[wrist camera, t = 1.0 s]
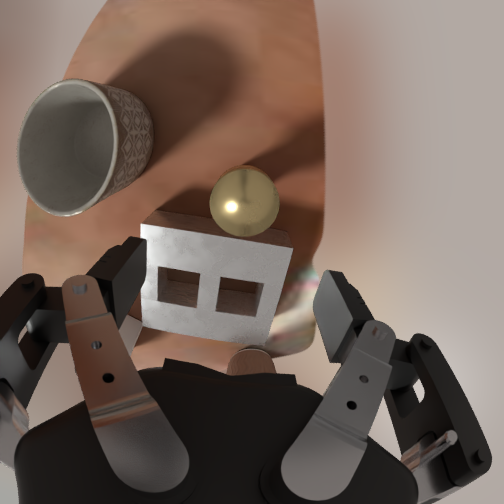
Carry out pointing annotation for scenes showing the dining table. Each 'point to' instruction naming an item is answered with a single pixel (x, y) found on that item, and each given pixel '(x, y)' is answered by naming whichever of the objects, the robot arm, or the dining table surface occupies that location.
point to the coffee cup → (250, 362)
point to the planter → (82, 145)
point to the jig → (211, 278)
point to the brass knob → (244, 201)
